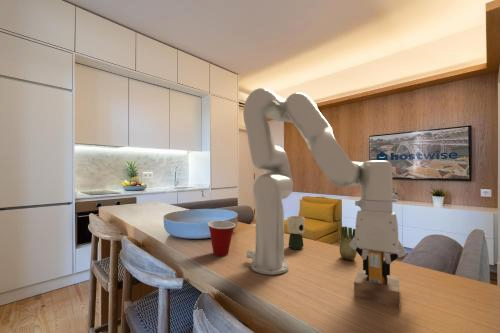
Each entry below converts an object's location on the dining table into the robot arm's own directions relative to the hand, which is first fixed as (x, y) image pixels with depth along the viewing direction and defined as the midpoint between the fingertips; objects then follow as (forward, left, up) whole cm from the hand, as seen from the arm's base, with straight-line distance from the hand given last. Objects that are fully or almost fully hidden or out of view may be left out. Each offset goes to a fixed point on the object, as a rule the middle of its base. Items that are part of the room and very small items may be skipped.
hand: (376, 274), depth 64 cm
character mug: (-32, +25, -5) cm, 41 cm away
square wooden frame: (0, 0, -5) cm, 5 cm away
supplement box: (0, 0, -4) cm, 4 cm away
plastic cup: (-54, +2, -5) cm, 54 cm away
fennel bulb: (-11, +23, -5) cm, 26 cm away
